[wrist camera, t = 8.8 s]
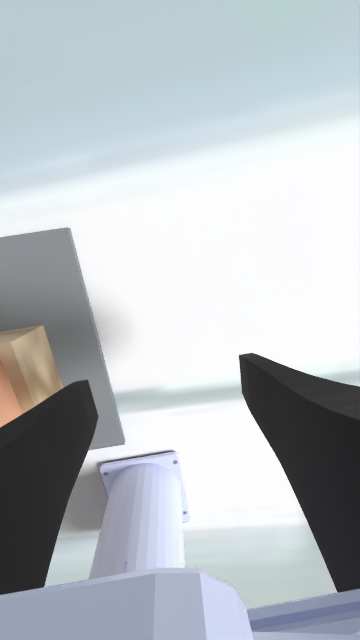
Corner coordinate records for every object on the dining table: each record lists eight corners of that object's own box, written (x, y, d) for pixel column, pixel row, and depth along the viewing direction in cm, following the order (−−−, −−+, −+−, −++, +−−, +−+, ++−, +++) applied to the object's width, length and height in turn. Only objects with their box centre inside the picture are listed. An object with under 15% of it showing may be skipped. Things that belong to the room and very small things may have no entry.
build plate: (125, 441, 23) (124, 444, 22) (-36, 467, 22) (-40, 471, 22) (70, 228, 17) (67, 227, 17) (-143, 260, 17) (-151, 259, 17)
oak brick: (69, 407, 21) (47, 441, 17) (4, 418, 21) (-33, 454, 17) (43, 324, 19) (10, 342, 15) (-30, 336, 19) (-82, 356, 15)
